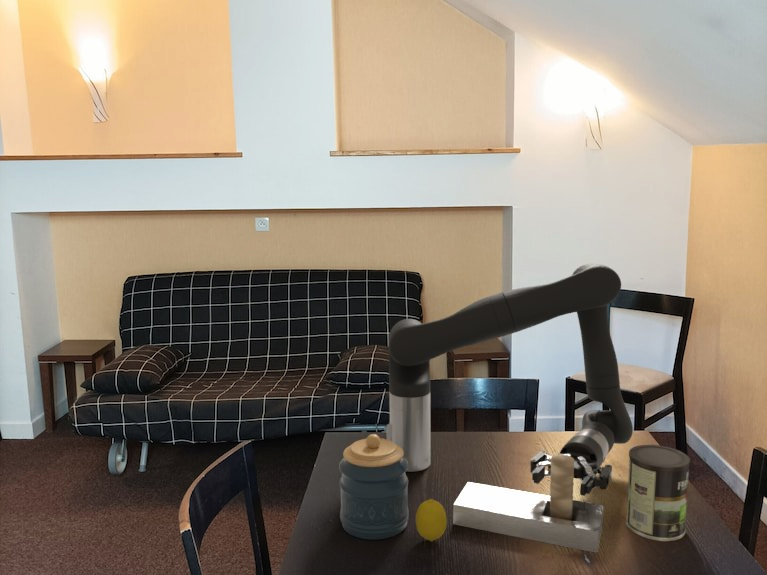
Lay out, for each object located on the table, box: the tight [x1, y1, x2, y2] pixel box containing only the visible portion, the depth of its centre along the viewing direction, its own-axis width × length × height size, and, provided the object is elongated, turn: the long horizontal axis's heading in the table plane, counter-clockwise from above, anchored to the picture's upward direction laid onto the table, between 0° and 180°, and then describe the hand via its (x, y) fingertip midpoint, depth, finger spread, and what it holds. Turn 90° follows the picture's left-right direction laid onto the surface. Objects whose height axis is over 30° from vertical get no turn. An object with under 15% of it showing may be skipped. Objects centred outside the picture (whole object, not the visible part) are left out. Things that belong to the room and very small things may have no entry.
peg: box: [549, 453, 575, 521], centre depth 119 cm, size 4×4×14 cm
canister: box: [338, 433, 410, 541], centre depth 123 cm, size 13×13×18 cm
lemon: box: [415, 498, 448, 542], centre depth 117 cm, size 6×6×8 cm
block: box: [452, 481, 605, 554], centre depth 122 cm, size 26×10×4 cm, turn 67°
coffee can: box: [625, 444, 691, 542], centre depth 120 cm, size 10×10×14 cm
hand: (558, 484), depth 117 cm, fingers open, 8 cm apart
